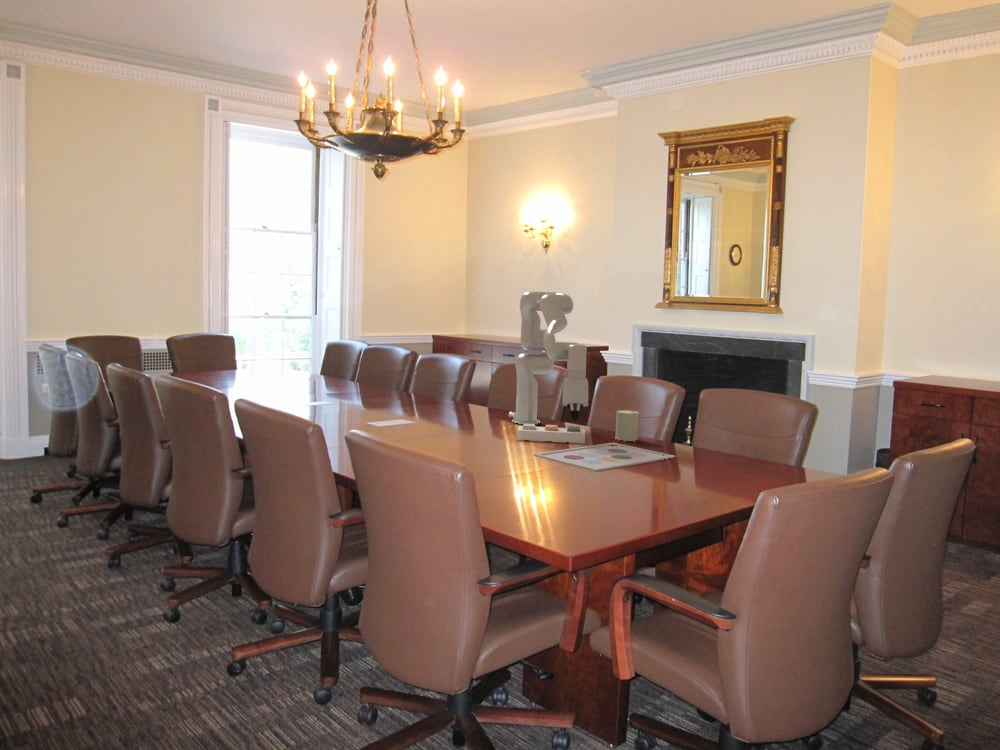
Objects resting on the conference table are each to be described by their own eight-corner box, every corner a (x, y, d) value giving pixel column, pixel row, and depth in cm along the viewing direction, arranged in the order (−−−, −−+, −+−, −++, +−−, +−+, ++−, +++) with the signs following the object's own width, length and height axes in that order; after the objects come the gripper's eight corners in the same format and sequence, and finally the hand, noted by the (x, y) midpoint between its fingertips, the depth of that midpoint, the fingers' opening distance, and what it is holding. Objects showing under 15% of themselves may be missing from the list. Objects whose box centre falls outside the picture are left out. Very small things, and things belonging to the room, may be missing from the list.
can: (631, 442, 338) (633, 413, 337) (611, 439, 343) (612, 410, 342) (641, 439, 346) (642, 410, 345) (621, 436, 351) (622, 408, 350)
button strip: (517, 440, 335) (517, 430, 334) (518, 435, 345) (518, 425, 345) (584, 443, 333) (585, 433, 332) (584, 438, 344) (584, 428, 343)
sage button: (522, 434, 337) (523, 425, 337) (523, 432, 342) (523, 423, 342) (534, 434, 337) (535, 426, 337) (535, 432, 342) (535, 424, 341)
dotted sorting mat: (533, 453, 305) (613, 442, 333) (533, 457, 305) (613, 445, 333) (595, 469, 282) (675, 455, 310) (595, 473, 282) (675, 459, 310)
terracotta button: (545, 435, 337) (545, 426, 336) (545, 433, 341) (545, 424, 341) (557, 435, 336) (557, 427, 336) (557, 433, 341) (557, 425, 341)
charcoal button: (567, 436, 336) (567, 427, 336) (567, 434, 341) (567, 425, 340) (579, 436, 336) (579, 428, 335) (579, 434, 340) (579, 426, 340)
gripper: (557, 375, 332) (556, 420, 334) (595, 376, 331) (593, 422, 333) (557, 373, 340) (556, 418, 341) (594, 374, 339) (592, 419, 340)
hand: (574, 420), depth 337 cm, fingers closed
